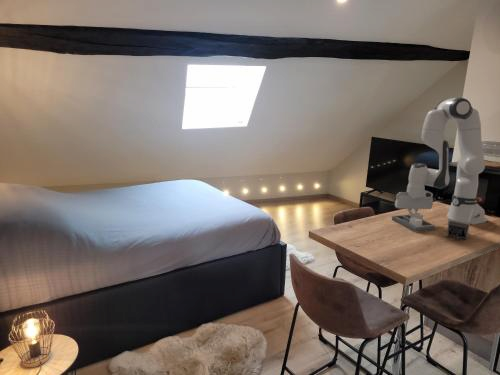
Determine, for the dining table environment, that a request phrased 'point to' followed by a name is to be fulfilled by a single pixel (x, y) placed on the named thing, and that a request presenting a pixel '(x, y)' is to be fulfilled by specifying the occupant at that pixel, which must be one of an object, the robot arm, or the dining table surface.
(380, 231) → the dining table surface
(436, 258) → the dining table surface
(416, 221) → the white sliding block
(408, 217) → the switch board
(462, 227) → the electrical switch
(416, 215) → the white cube-shaped block
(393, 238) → the dining table surface
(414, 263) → the dining table surface
